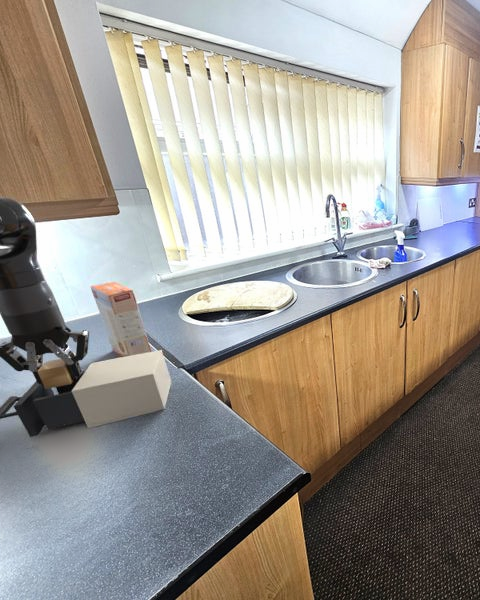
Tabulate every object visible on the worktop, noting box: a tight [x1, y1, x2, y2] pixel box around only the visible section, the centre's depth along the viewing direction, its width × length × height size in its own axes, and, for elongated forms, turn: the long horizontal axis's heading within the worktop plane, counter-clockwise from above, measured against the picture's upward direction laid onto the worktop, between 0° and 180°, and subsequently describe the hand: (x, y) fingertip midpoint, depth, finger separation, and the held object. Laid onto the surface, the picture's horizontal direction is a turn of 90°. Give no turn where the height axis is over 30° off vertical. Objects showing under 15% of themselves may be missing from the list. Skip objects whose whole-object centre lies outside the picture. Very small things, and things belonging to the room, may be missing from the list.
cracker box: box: [90, 281, 152, 358], centre depth 94 cm, size 14×6×21 cm, turn 56°
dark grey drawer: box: [0, 370, 86, 438], centre depth 70 cm, size 17×10×8 cm, turn 117°
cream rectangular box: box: [72, 349, 172, 429], centre depth 75 cm, size 14×12×10 cm
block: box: [37, 358, 74, 389], centre depth 68 cm, size 4×4×4 cm
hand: (61, 380), depth 69 cm, fingers closed on block, 4 cm apart
